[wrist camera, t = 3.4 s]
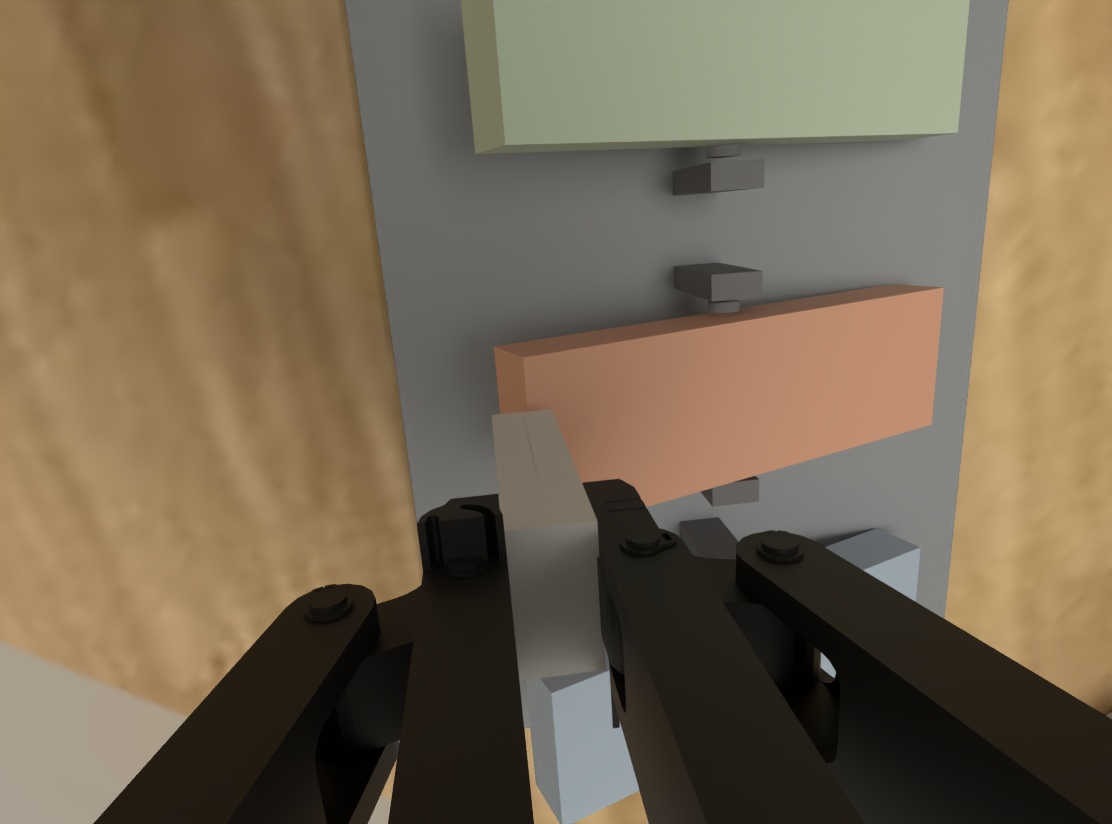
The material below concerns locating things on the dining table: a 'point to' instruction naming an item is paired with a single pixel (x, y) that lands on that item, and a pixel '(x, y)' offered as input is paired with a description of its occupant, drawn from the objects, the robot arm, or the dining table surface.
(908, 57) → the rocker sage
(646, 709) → the robot arm
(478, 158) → the board
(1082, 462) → the dining table surface
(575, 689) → the rocker blue
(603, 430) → the rocker terracotta
